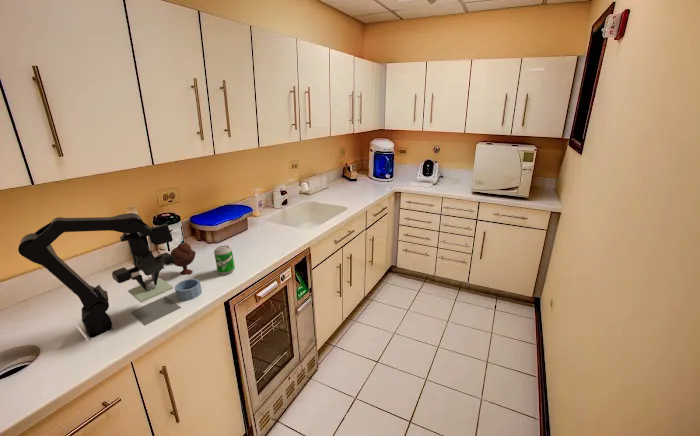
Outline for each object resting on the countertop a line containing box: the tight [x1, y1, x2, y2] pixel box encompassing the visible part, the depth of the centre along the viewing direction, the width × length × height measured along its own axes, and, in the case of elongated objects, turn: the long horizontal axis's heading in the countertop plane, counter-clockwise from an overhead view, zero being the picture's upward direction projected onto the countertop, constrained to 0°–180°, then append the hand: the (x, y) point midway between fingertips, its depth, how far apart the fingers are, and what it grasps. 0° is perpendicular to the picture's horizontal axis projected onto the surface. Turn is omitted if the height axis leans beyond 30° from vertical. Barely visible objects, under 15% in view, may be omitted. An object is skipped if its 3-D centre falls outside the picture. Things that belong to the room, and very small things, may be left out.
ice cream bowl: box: [169, 242, 196, 276], centre depth 146 cm, size 11×11×15 cm
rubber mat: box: [129, 295, 182, 326], centre depth 122 cm, size 13×13×1 cm
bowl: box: [174, 278, 202, 302], centre depth 131 cm, size 9×9×5 cm
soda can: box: [213, 244, 235, 276], centre depth 147 cm, size 8×8×12 cm
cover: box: [127, 277, 174, 304], centre depth 118 cm, size 11×11×4 cm
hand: (150, 287), depth 119 cm, fingers closed on cover, 3 cm apart
